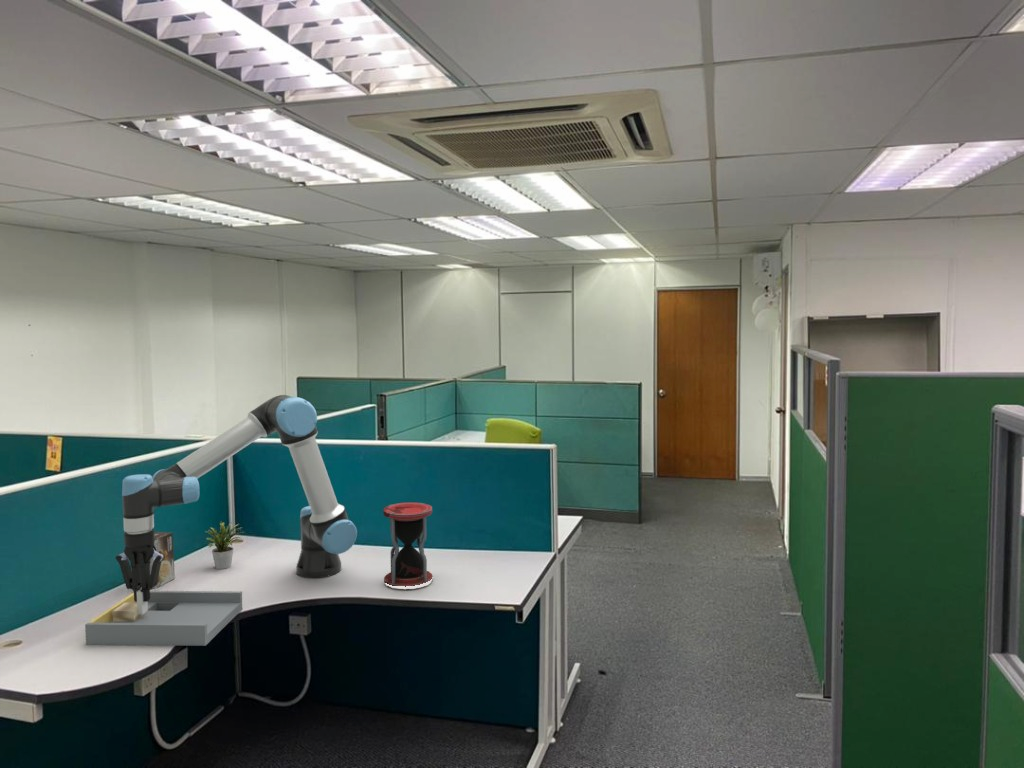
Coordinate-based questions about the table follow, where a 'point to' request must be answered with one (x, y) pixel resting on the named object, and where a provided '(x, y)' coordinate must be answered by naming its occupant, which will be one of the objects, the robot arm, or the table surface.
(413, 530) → the hourglass
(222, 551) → the house plant
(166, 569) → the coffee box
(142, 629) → the box
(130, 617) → the block
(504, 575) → the table surface
